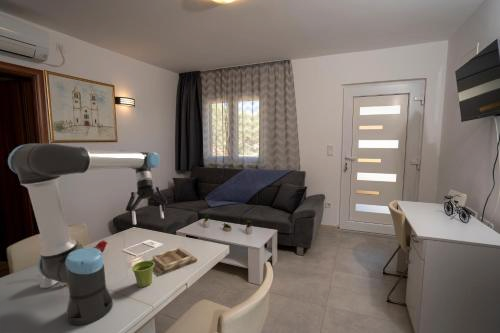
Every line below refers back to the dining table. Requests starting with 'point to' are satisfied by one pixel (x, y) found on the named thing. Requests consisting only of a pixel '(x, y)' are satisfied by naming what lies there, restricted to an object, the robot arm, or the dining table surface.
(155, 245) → the photo frame
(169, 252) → the walnut pot stand
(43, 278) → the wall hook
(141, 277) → the plant pot
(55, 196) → the robot arm
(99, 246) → the decorative bird figurine
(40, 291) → the dining table surface
